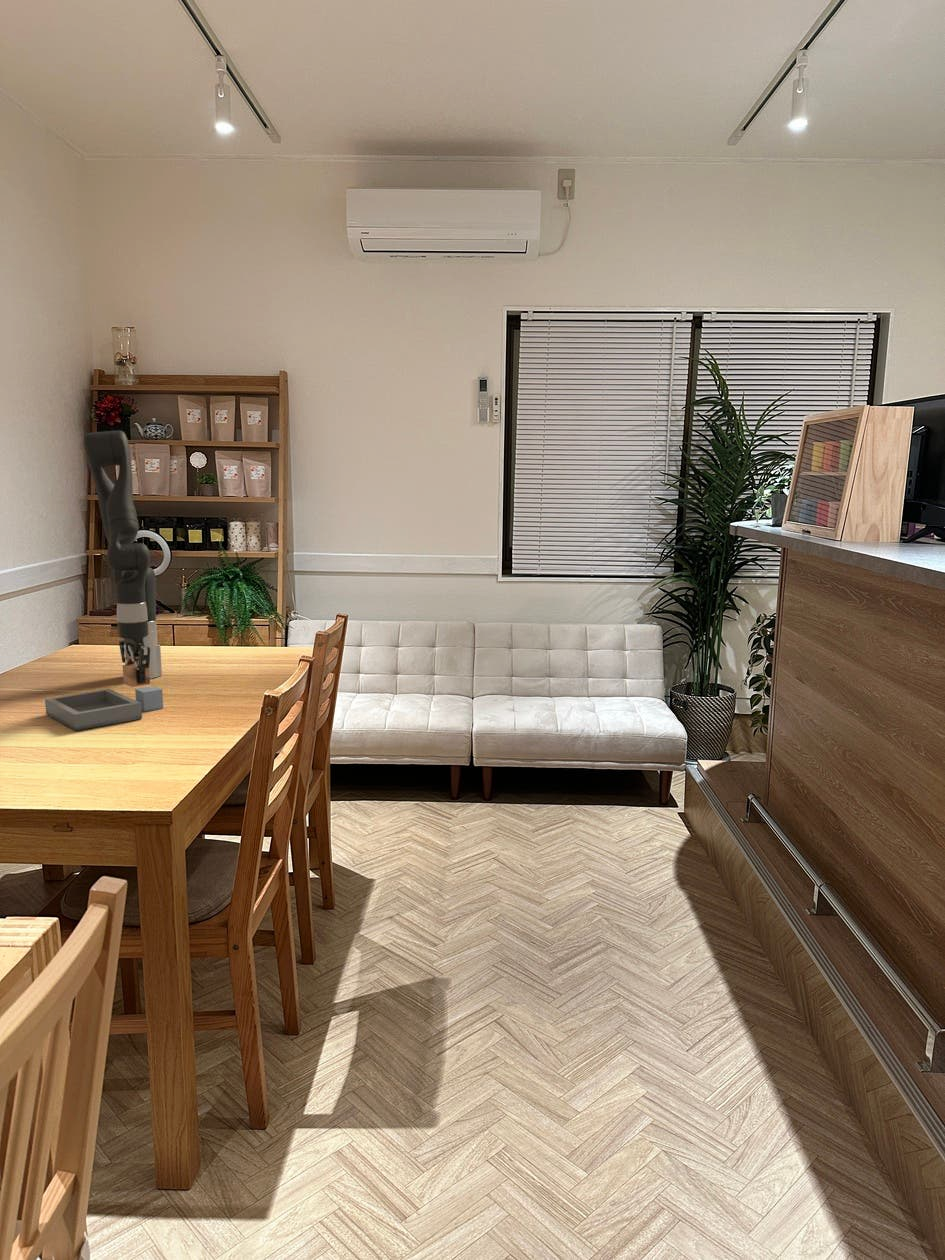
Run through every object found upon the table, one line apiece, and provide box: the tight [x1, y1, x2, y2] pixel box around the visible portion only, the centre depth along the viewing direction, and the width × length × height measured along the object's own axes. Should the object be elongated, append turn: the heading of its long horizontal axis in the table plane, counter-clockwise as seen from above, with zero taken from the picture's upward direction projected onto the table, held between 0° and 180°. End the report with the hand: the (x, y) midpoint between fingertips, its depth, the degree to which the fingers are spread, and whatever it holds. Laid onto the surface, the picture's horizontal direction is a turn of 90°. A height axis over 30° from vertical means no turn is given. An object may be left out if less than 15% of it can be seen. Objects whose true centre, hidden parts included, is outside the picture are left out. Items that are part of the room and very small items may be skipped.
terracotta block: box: [122, 663, 151, 688], centre depth 229 cm, size 5×5×5 cm
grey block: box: [134, 685, 164, 712], centre depth 223 cm, size 5×5×5 cm
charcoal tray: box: [44, 688, 143, 732], centre depth 214 cm, size 16×20×4 cm
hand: (136, 680), depth 230 cm, fingers closed on terracotta block, 5 cm apart
